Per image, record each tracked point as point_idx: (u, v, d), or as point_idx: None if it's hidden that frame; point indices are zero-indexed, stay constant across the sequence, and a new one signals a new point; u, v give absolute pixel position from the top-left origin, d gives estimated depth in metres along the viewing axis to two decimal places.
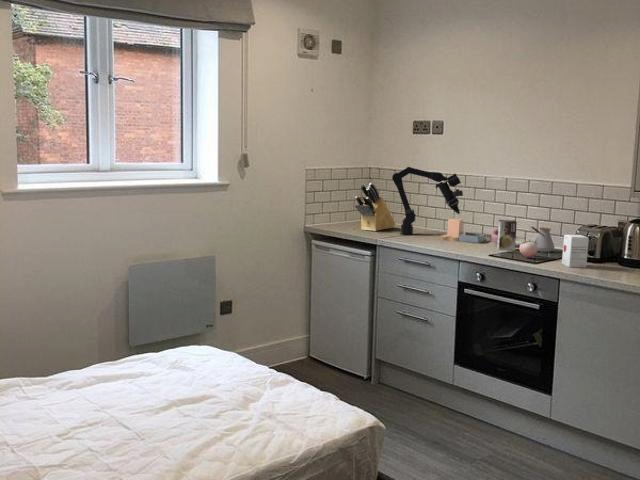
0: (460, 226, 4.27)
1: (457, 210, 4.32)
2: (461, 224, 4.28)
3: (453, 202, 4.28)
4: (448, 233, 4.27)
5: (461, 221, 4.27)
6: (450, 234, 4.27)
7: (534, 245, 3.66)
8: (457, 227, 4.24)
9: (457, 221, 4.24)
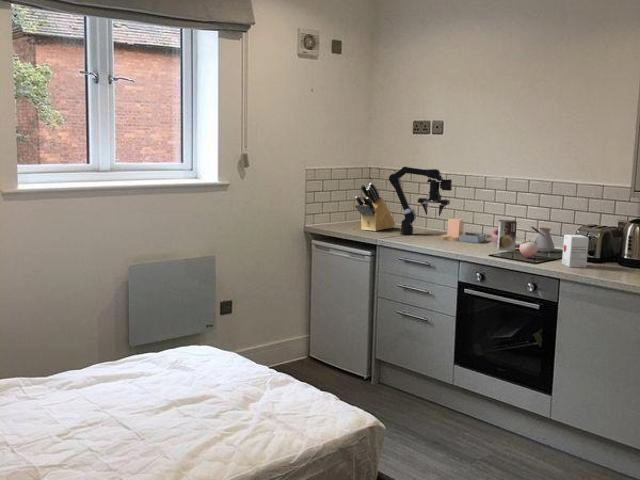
0: (460, 226, 4.27)
1: None
2: (461, 224, 4.28)
3: (448, 202, 4.32)
4: (448, 233, 4.27)
5: (461, 221, 4.27)
6: (450, 234, 4.27)
7: (534, 245, 3.66)
8: (457, 227, 4.24)
9: (457, 221, 4.24)
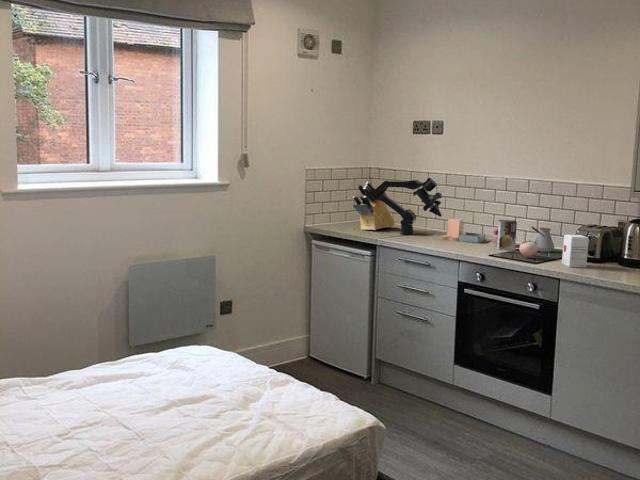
0: (460, 226, 4.27)
1: (437, 213, 4.31)
2: (461, 224, 4.28)
3: (427, 207, 4.25)
4: (448, 233, 4.27)
5: (461, 221, 4.27)
6: (450, 234, 4.27)
7: (534, 245, 3.66)
8: (457, 227, 4.24)
9: (457, 221, 4.24)
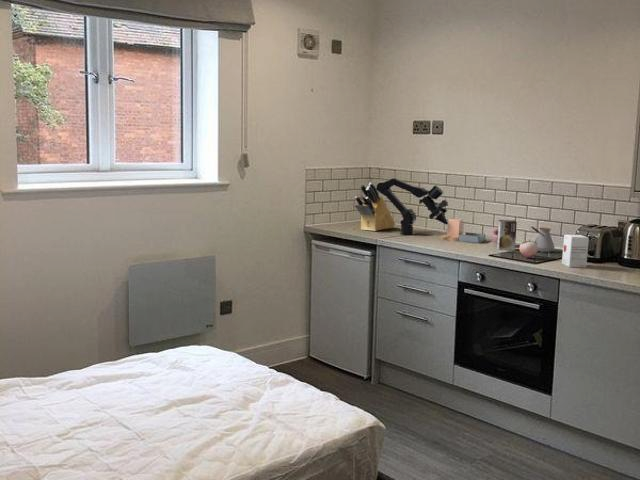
0: (460, 226, 4.27)
1: (444, 221, 4.30)
2: (461, 224, 4.28)
3: (433, 215, 4.24)
4: (448, 233, 4.27)
5: (461, 221, 4.27)
6: (450, 234, 4.27)
7: (534, 245, 3.66)
8: (457, 227, 4.24)
9: (457, 221, 4.24)
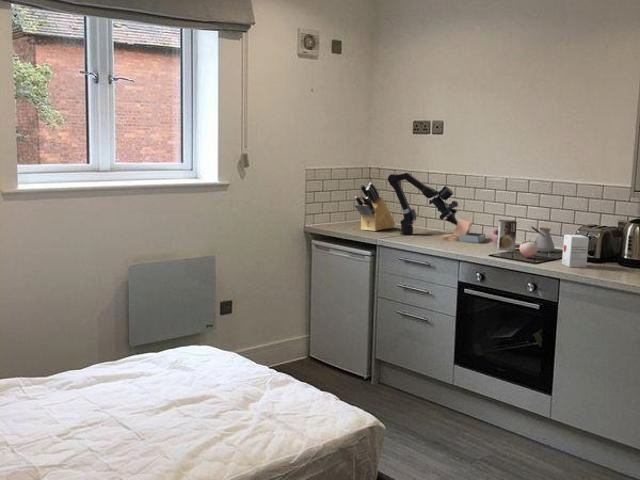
0: (469, 228, 4.25)
1: (454, 222, 4.27)
2: (470, 227, 4.26)
3: (443, 215, 4.21)
4: (455, 232, 4.25)
5: (471, 224, 4.25)
6: (456, 234, 4.25)
7: (534, 245, 3.66)
8: (465, 229, 4.22)
9: (467, 223, 4.21)
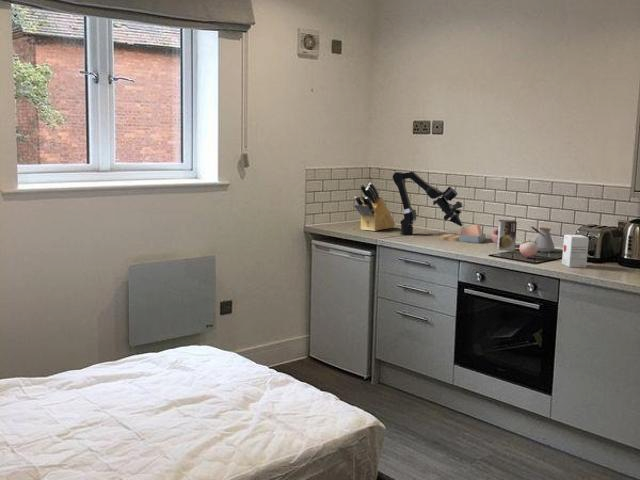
0: None
1: (458, 222, 4.26)
2: None
3: (447, 216, 4.20)
4: (463, 229, 4.23)
5: (479, 235, 4.23)
6: (463, 231, 4.23)
7: (534, 245, 3.66)
8: None
9: (477, 234, 4.19)
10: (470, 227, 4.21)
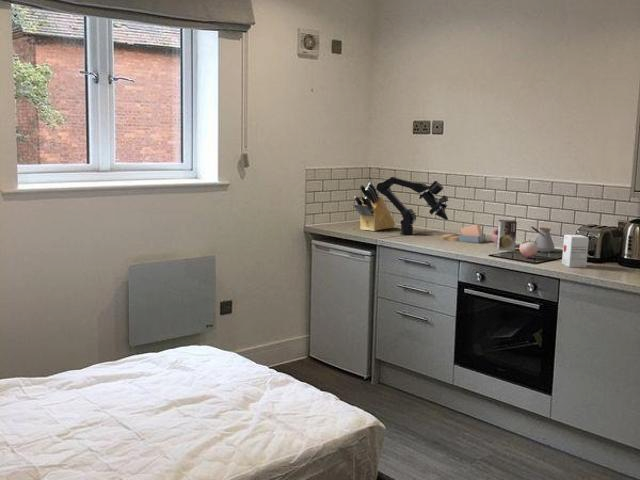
0: None
1: (444, 216, 4.30)
2: None
3: (433, 210, 4.24)
4: (463, 229, 4.23)
5: (479, 235, 4.23)
6: (463, 231, 4.23)
7: (534, 245, 3.66)
8: None
9: (477, 234, 4.19)
10: (470, 227, 4.21)
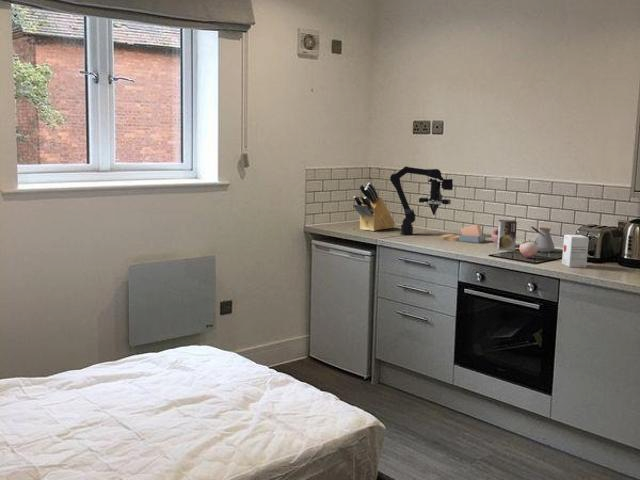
0: None
1: (435, 211, 4.39)
2: None
3: (449, 202, 4.34)
4: (463, 229, 4.23)
5: (479, 235, 4.23)
6: (463, 231, 4.23)
7: (534, 245, 3.66)
8: None
9: (477, 234, 4.19)
10: (470, 227, 4.21)
